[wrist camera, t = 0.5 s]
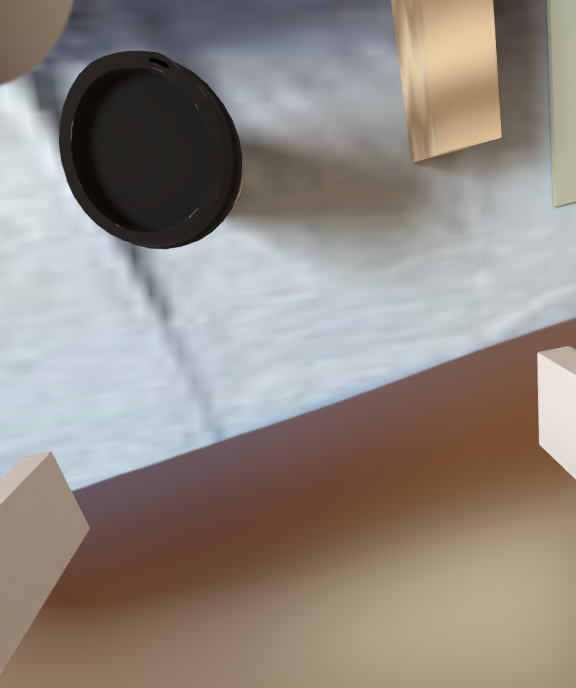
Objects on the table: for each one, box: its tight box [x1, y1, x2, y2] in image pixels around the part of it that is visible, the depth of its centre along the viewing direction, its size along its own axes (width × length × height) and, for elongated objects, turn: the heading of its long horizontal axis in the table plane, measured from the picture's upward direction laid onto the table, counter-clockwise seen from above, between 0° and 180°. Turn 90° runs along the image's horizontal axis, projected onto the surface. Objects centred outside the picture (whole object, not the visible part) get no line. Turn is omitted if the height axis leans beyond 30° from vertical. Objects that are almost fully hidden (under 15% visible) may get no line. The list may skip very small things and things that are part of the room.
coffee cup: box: [59, 51, 243, 249], centre depth 24 cm, size 8×8×15 cm
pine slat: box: [391, 0, 502, 163], centre depth 25 cm, size 18×4×6 cm, turn 14°
